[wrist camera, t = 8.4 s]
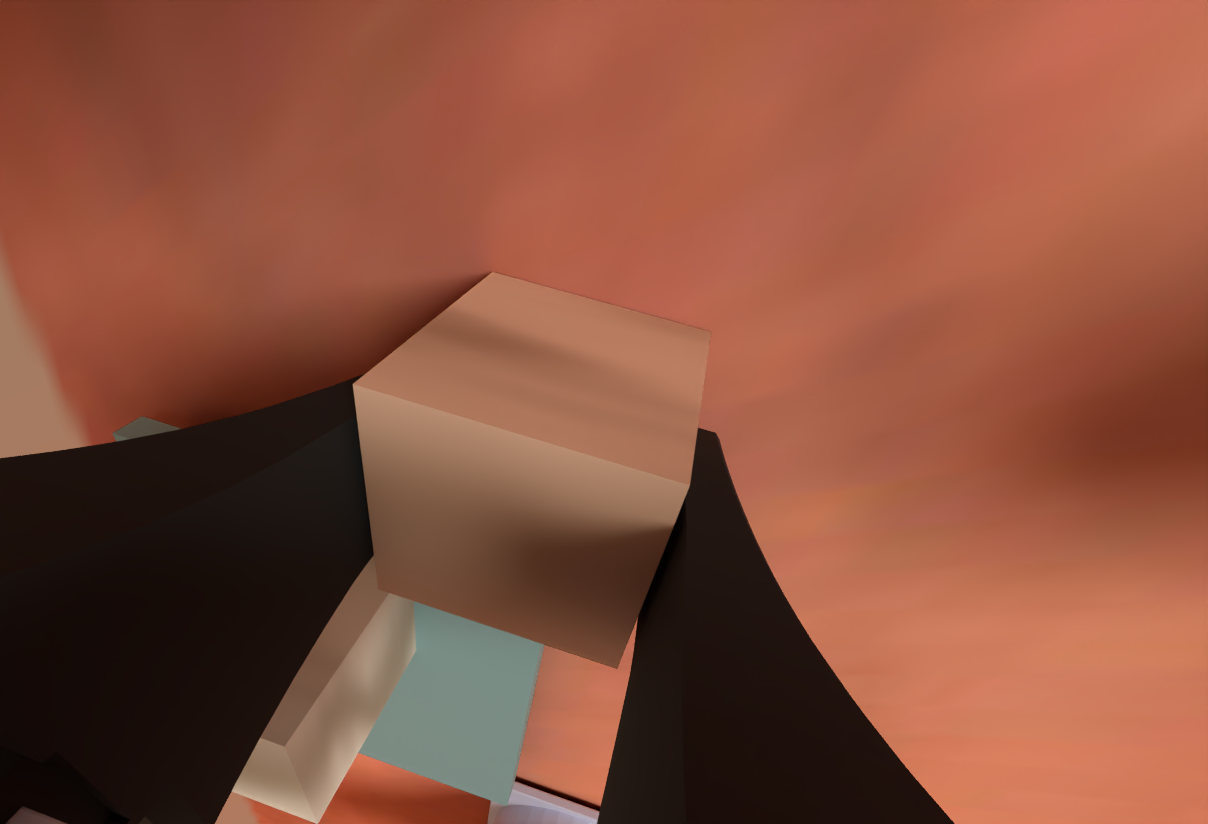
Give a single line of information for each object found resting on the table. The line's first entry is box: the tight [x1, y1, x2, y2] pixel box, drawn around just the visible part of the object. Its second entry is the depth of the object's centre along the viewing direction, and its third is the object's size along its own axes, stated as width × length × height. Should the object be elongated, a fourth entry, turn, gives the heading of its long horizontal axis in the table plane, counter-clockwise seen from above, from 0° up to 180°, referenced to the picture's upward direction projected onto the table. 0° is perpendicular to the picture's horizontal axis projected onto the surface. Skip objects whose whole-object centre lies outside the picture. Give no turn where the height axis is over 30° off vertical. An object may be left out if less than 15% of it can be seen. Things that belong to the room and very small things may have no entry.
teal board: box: [112, 416, 544, 806], centre depth 18 cm, size 16×12×2 cm
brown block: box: [353, 272, 711, 669], centre depth 10 cm, size 4×4×4 cm
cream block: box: [232, 556, 416, 824], centre depth 13 cm, size 4×4×4 cm
